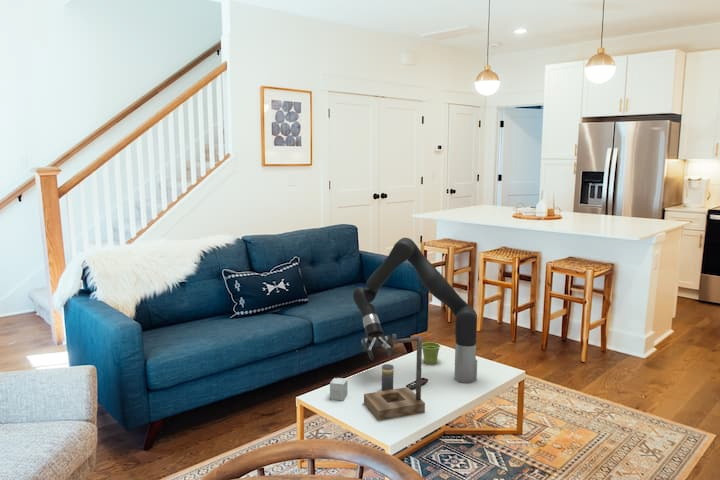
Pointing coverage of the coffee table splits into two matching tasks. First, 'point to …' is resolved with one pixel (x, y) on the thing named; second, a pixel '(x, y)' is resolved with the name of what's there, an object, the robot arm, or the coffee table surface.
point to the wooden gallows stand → (398, 393)
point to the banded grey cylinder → (387, 377)
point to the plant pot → (430, 352)
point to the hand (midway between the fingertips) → (381, 358)
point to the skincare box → (338, 389)
